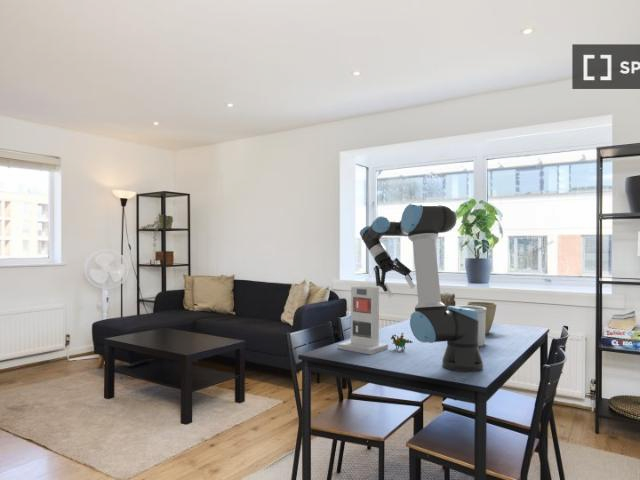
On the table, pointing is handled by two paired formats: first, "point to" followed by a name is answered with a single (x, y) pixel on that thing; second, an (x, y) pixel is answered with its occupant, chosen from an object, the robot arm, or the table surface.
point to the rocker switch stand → (365, 322)
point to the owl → (448, 299)
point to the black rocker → (362, 329)
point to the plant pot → (487, 313)
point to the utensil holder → (481, 323)
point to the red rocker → (362, 305)
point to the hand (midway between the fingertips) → (402, 292)
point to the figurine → (400, 341)
